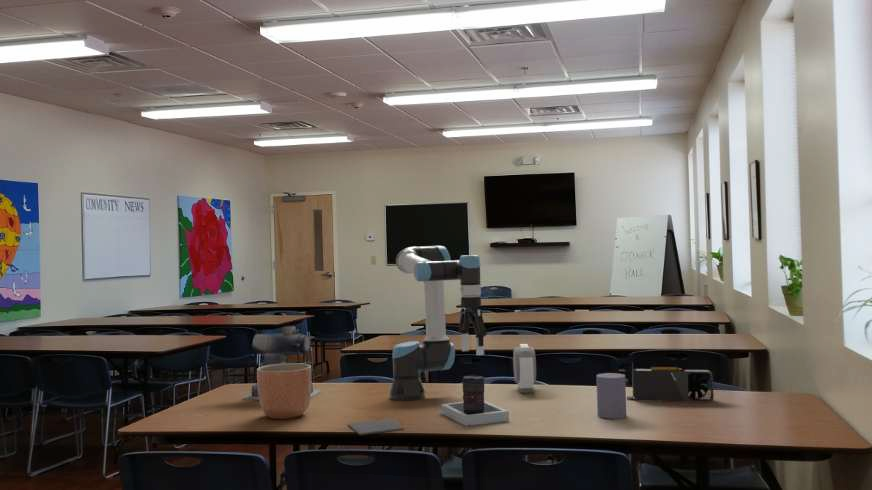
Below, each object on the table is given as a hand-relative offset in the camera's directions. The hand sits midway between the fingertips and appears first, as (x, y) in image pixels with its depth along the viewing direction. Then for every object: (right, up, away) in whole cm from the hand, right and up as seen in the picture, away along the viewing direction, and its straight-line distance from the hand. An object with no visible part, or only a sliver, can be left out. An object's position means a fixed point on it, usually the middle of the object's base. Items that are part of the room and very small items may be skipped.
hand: (472, 353), depth 280 cm
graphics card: (+80, -22, +20) cm, 85 cm away
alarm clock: (+25, -24, +49) cm, 60 cm away
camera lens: (+1, -24, 0) cm, 24 cm away
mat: (-36, -25, -12) cm, 45 cm away
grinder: (-82, -27, +54) cm, 102 cm away
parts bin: (+1, -24, 0) cm, 24 cm away
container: (+51, -23, -5) cm, 56 cm away
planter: (-72, -26, +11) cm, 78 cm away
